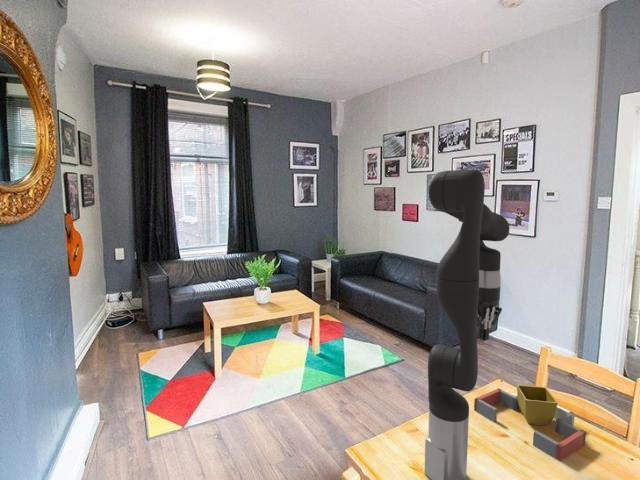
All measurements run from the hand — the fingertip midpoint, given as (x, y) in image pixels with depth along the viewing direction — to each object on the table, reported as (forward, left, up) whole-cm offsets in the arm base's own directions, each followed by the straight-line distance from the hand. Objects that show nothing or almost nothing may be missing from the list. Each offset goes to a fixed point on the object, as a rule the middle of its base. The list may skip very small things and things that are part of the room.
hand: (483, 339), depth 110 cm
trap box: (+12, -9, -26) cm, 30 cm away
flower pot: (+14, -9, -26) cm, 31 cm away
